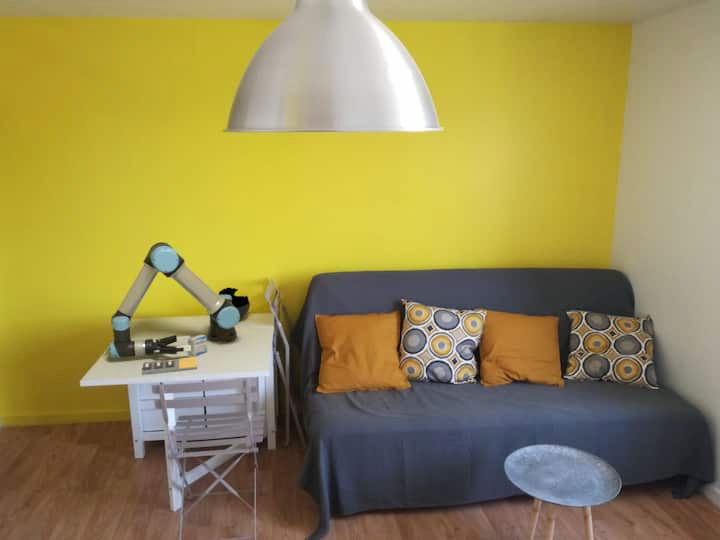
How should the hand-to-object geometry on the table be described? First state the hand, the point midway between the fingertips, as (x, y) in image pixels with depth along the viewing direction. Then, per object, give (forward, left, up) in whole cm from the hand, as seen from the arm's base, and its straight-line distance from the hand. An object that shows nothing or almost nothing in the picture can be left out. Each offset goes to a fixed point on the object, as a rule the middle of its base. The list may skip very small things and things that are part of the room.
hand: (190, 343), depth 300 cm
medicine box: (-3, 0, -6) cm, 7 cm away
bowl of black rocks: (-24, -48, -6) cm, 54 cm away
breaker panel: (+10, +14, -6) cm, 18 cm away
